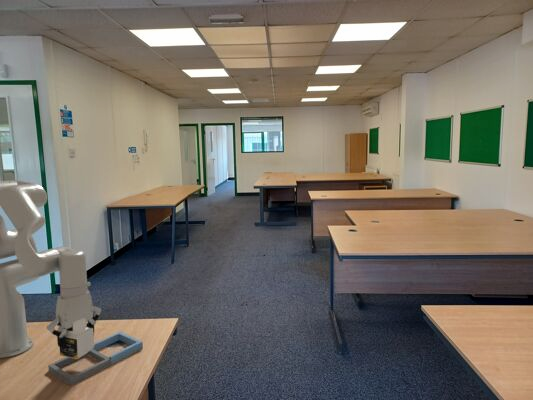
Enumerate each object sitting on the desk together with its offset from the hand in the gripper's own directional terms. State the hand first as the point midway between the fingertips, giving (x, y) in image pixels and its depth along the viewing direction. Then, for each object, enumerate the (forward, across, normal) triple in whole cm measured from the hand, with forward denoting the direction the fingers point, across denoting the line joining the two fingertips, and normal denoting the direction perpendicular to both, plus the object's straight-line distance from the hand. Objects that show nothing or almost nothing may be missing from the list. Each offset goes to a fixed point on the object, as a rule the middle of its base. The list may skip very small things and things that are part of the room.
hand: (76, 341), depth 117 cm
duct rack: (+9, -6, +1) cm, 11 cm away
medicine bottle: (+4, 0, 0) cm, 4 cm away
